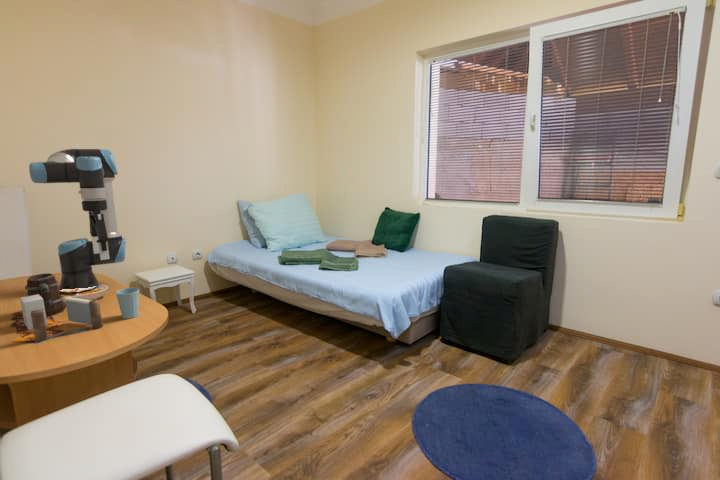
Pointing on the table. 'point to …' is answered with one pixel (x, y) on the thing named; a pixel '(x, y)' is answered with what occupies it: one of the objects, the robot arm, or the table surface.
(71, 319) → the white thick panel
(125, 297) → the cup
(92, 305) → the posts
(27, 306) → the small box
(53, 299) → the mug
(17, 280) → the table surface
